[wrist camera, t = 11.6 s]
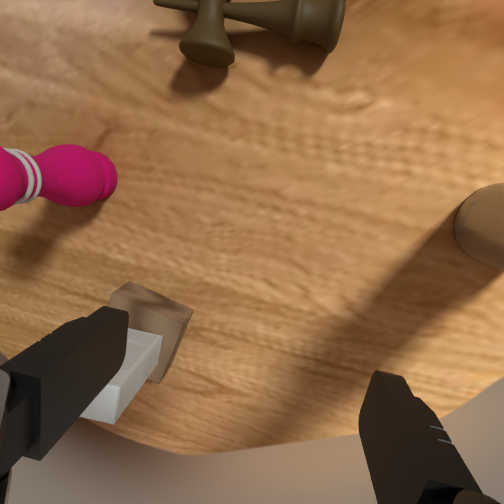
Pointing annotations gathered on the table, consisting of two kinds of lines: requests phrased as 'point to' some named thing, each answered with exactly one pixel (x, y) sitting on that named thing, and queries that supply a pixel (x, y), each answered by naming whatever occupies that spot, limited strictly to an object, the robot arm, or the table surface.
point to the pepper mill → (55, 176)
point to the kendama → (257, 24)
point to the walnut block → (154, 320)
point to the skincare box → (126, 377)
